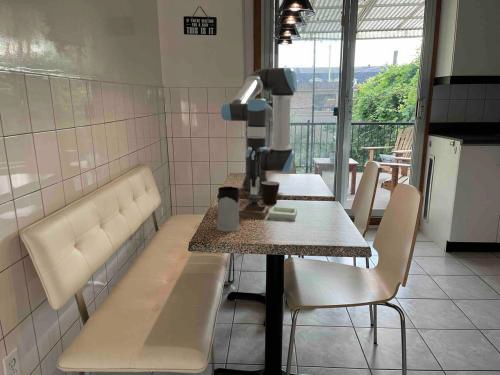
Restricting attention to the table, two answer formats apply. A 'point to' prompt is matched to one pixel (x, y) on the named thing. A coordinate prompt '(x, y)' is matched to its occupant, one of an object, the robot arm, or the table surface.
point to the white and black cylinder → (228, 209)
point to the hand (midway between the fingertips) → (254, 193)
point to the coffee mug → (270, 192)
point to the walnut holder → (254, 211)
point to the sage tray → (283, 213)
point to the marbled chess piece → (254, 198)
